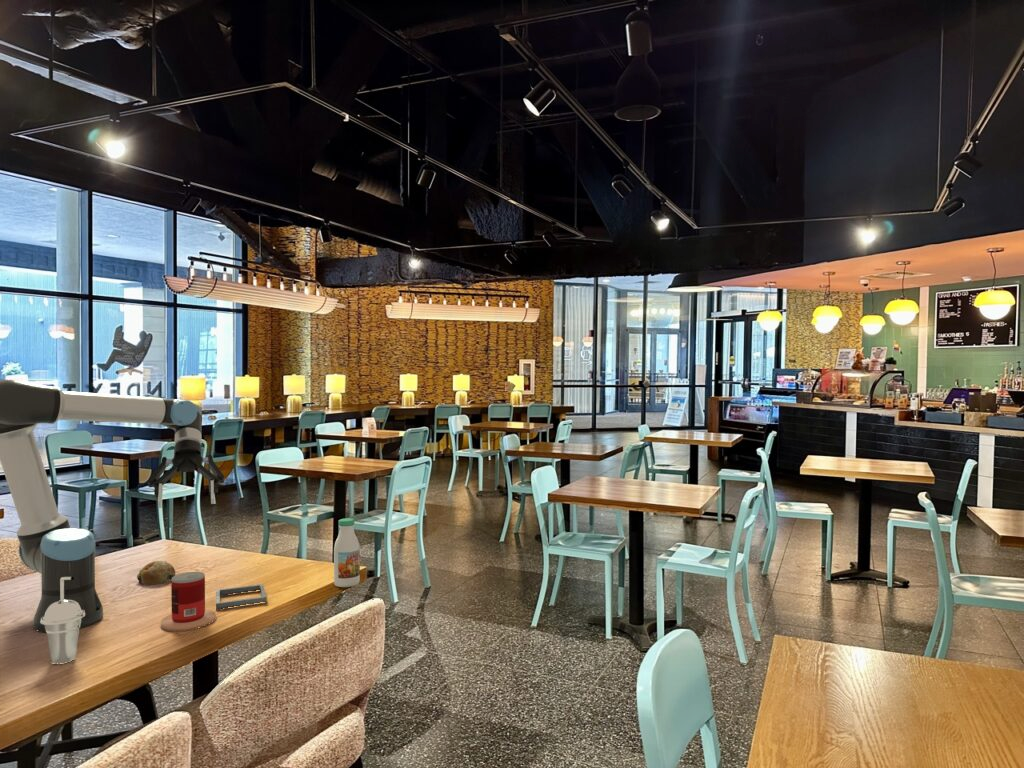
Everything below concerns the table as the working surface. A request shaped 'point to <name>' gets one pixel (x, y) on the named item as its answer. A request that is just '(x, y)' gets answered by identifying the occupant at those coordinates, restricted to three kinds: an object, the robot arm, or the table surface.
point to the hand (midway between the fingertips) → (186, 503)
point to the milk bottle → (346, 555)
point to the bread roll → (156, 573)
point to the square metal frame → (242, 601)
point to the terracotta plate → (174, 626)
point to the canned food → (188, 597)
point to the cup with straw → (63, 626)
